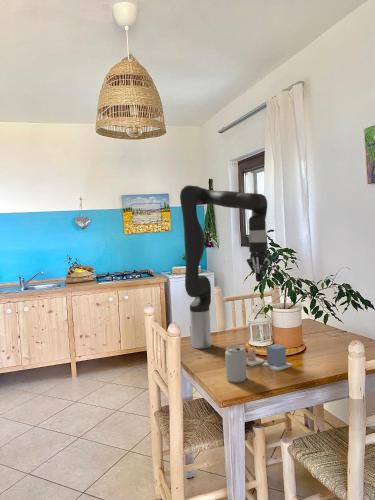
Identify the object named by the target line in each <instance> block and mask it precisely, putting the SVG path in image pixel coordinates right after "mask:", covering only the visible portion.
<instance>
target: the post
mask: <svg viewBox="0 0 375 500" xmlns="http://www.w3.org/2000/svg"><path fill="white" fill-rule="evenodd" d="M261 366H262V367H265V368H268V369H271V370H273V371H276V372H279V371H282V370H284V369H288V368H290V367H293V366H292V363H289V362H287V361H286V364H283V365H281V366H278V367H276V366H273V365H271V364H268V363H267V361H266V362H262V363H261Z"/></svg>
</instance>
